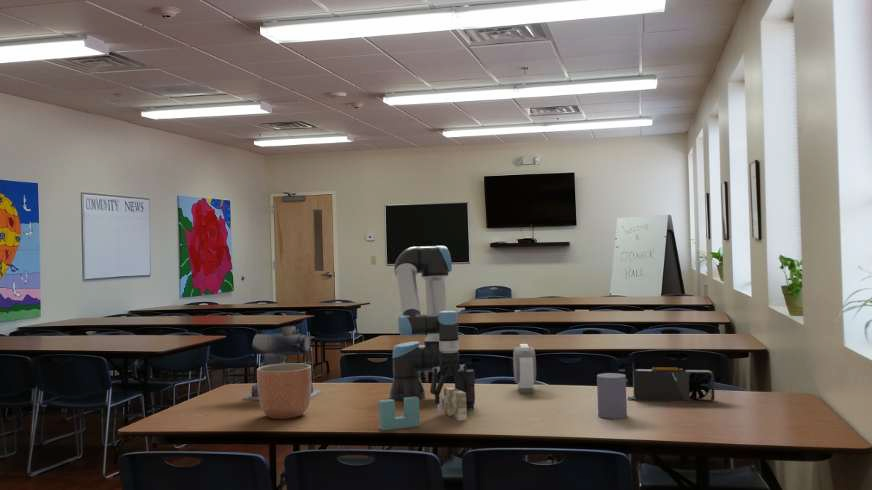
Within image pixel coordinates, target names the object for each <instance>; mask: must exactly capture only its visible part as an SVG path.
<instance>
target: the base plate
mask: <svg viewBox="0 0 872 490" xmlns="http://www.w3.org/2000/svg"><path fill="white" fill-rule="evenodd" d="M395 402H396V400H393V399H390V398H389V399H381V400H378V407H379V408H378V409H379V411H378V412H379V413H378V414H379V429H380V430H381V431H388V430H397V429H398V430H399V429H407V428H414V427H420V426H421V419H420V418H421V416H420V412H421V411H420V399H419V398H418V397H407V398H404V400H403V415H402V416H401V415H399V416H396V404H395Z"/></svg>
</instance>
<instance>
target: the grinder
mask: <svg viewBox="0 0 872 490" xmlns="http://www.w3.org/2000/svg"><path fill="white" fill-rule="evenodd" d="M280 330H281V333H257V334H255V335H254V337H253V340H252V344H251V346H252V350H253V352H254V353H255V354H257V355H259V354H260V355H264V357H263V363H262V366H261V367H263V366H267V365H274V364H286V360H285V355H293V356H294V357H298V356H299V355H302V354H304V353H307V352H309V350H310V347H311V341H310V340H311V339H310V337H309V336H308V335H305V334H303V333H299V332H300V330H299V328H296V326H285V327H282V328H281V329H280ZM313 384H314V383H313V381H312V380H311V396H310V400H311V399H313V398H315V397H316V396H319V395H320V394H322V393H323V389H314V387H313V386H314V385H313ZM241 400H242V401H244V400H245V401H259V395H258V384H257V383H256V384H254V385H252V386H251V393H249V394H247V395H244V397H242V398H241Z"/></svg>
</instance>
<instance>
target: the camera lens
mask: <svg viewBox="0 0 872 490" xmlns="http://www.w3.org/2000/svg"><path fill="white" fill-rule="evenodd" d="M458 374H459V377H460V379H461V381H462V383H463V385H464V382H463V377H462V372H461V369H460V368H459V370H458ZM475 375H476V374H475V370H474V369H470V368H467V376H468V380H469V385H470V390H469V391H467V392H466V409H467V410H472V409H474V407H475V400H476V392H475V391H476V390H475V389H476V387H475V384H476V383H475V382H476V376H475ZM453 377H454V376H453ZM464 387H465V386H464ZM454 388H456V389H458V390H460V388H459V386H458V384H457V382H456V380H455V377H454Z"/></svg>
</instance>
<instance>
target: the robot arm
mask: <svg viewBox="0 0 872 490" xmlns="http://www.w3.org/2000/svg"><path fill="white" fill-rule="evenodd" d="M452 266H453V263H452V258H451V252H450V250H449V249H448V247H447V246H445V245H424V246H422V245H421V246H416V245H415V246H410V247H407V248H406V249H404V250H403V251H402V252H401V253H399V256H398V257H396V260H395V263H394V268H393V270H394V271H393V272H394V275H395V278H397V283H398V291H399V301H400V310H401V315H399V316H398V318H397V326H398V327H397V328H398V330H397V331H398V333H399V334H400V335H402V336H411V335H426V337H425V339H424V340H423V342H424V343H423V344H421V343H420V342H419V341H418V340H416V341H408V342H401V343H398V344H396V345H394V346H393V348H392V357H391V358H392V377H393V380H392V384H391V387H390V391H389V399H393V400H394V401H404V398H407V397H418V398H419V400H421V399H423V398H425V397H426V391H425V388H424V385H423V383H422V380H421V373H428V372H429V373H431V372H432V377H431V381H430V382H431V383H430V390H429V393H430V394H432V395H434V401H435V404H437V412H438V413H441V414H442V413H443V401H442V400H443V399H442V398H443V396H442V394H441V391H442V389H443V388H444V387H443V386H444V384H445V381H446V379H447V378H448V377H451V376H452V377H455V380H456V382H457V384H458V386H459V388H460V390H461V391H463V392H465V393H466V392H467V391H469V390H470V385H469V380H468V376H467V369H468V366H467V365H466V364H461V363H460V352H459V350H460V345H459V343H460V342H459V318H458V317H459V314H458V311H456V310H447V297H446V293H447V291H446V280H447V279H448V277H449V273H452V270H453V267H452ZM417 274H421V278H422V279H423V280H424V281H425V300H426V301H425V302H426V304H425V305H426V314H422V313H421V312H422V311H421V305H420V299H419V291H418V285H417V277H416V276H417ZM459 369H461V372H462V377H463V382H464V385H463V383H462V381H461V379H460V377H459V374H458V370H459ZM439 372H440V377H439ZM438 377H439V380H438ZM464 386H465V387H464Z"/></svg>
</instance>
